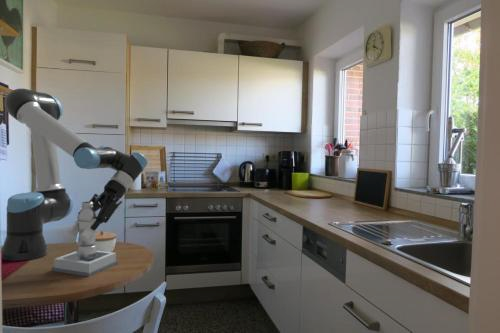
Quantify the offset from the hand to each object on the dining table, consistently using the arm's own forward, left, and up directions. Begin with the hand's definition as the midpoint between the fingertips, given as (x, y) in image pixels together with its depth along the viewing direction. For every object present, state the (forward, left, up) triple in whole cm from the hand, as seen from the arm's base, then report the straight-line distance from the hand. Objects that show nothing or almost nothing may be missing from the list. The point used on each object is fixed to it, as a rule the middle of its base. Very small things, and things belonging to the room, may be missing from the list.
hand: (77, 235), depth 121 cm
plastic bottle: (+1, +3, -9) cm, 10 cm away
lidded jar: (-4, +18, -12) cm, 22 cm away
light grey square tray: (+1, +3, -12) cm, 12 cm away
